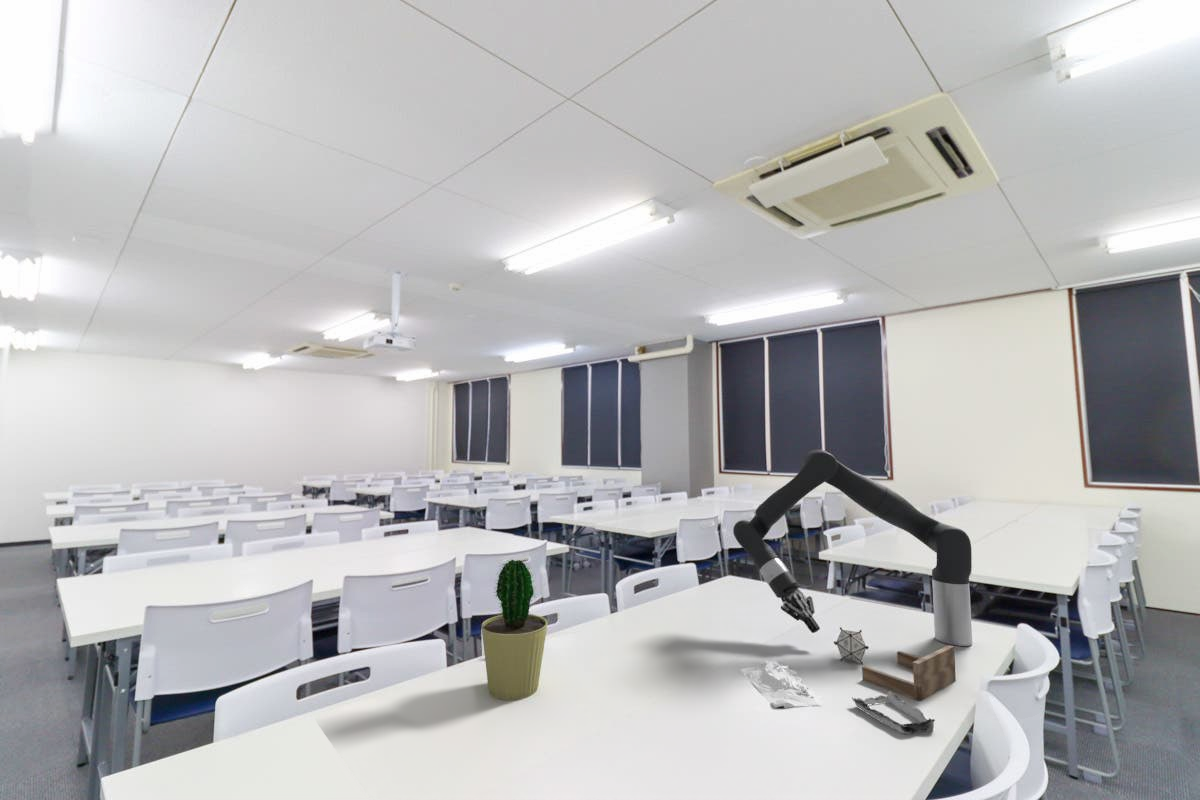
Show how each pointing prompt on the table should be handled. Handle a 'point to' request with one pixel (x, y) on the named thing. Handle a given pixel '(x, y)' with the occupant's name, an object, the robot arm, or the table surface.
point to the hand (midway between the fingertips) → (816, 631)
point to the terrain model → (781, 686)
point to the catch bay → (918, 674)
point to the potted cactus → (514, 637)
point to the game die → (851, 645)
